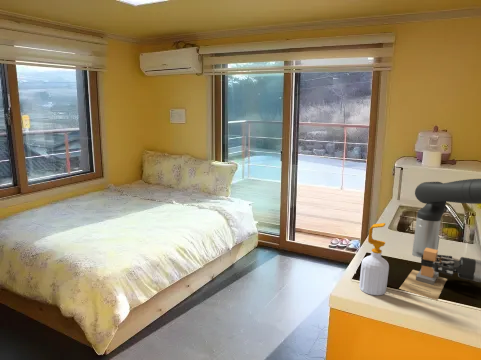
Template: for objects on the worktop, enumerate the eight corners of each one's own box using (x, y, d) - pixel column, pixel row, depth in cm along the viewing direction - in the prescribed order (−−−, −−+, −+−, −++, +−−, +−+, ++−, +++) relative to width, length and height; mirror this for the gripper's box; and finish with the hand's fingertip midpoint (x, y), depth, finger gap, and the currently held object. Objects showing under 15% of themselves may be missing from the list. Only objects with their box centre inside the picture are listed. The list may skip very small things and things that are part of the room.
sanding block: (421, 271, 142) (424, 244, 140) (438, 276, 139) (442, 248, 137) (415, 280, 135) (419, 251, 133) (433, 285, 132) (437, 256, 130)
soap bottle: (383, 298, 124) (391, 229, 119) (356, 291, 129) (362, 224, 124) (388, 288, 132) (396, 222, 127) (362, 281, 136) (369, 217, 132)
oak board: (412, 273, 144) (412, 269, 144) (446, 282, 137) (447, 278, 137) (398, 292, 129) (399, 288, 129) (436, 304, 122) (437, 300, 121)
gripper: (474, 253, 135) (423, 244, 143) (478, 267, 122) (421, 256, 130) (471, 272, 136) (420, 262, 144) (475, 288, 124) (419, 276, 132)
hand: (421, 259), depth 137 cm, fingers closed on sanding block, 4 cm apart
